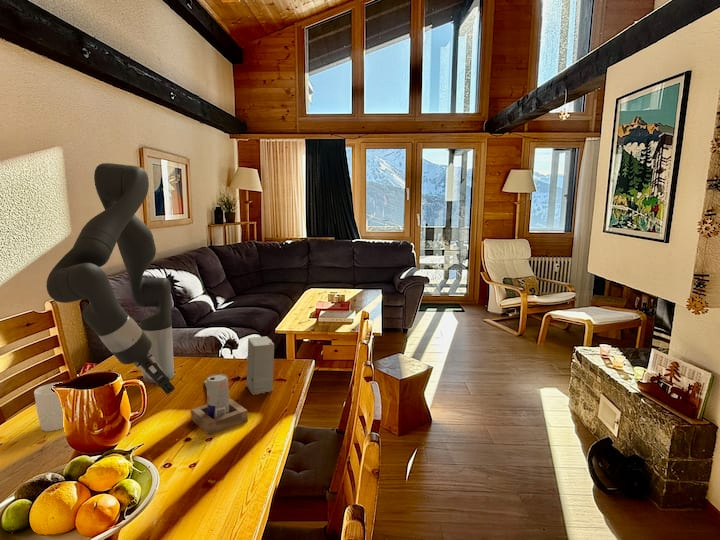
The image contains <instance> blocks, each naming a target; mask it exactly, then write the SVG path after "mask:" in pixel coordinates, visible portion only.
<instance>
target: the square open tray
mask: <svg viewBox="0 0 720 540" xmlns="http://www.w3.org/2000/svg"><path fill="white" fill-rule="evenodd" d="M248 413H249V412H248V409H246V408H245V407H243V406H242V405H241V404H239V403H238V402H236V401H234V400H233V399H232V398H231V397H229V413H228V414H226V415H223V416H220V417H217V418H214V419H212V418H211V417H210V416H208V406H207V403H205V404H202V405H200V406H196V407H194V408H191V409H190V415H191V421H192V422H193V423H195V425H197V426H198V427H199V428H200V429H202V430H203V431H204V432H205V433H206V434H207V435H208V436H212V435H214V434H217V433H219V432H222V431H224V430H227V429H231V428H234V427H235V426H238V425H240V424H243V423H247V422H248V421H249V415H248Z"/></svg>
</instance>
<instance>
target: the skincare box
mask: <svg viewBox="0 0 720 540" xmlns="http://www.w3.org/2000/svg"><path fill="white" fill-rule="evenodd" d="M274 359H275V343H274V342H273V341H272V339H270V338H269V336H267V335H266V336H253V337H252V336H251V337H248V338H247V360H246V363H247V365H246V366H247V367H246V368H247V369H246V387H247V388H248V390H249V391H250V393H251V394H252V396H255V394H256V395H261V394H260V393H262V394H266V393H265V392H269V393H271V392H270V391H272V392H273V387H274V386H273V385H274V366H275V365H274V363H275V360H274Z"/></svg>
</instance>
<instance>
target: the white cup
mask: <svg viewBox="0 0 720 540" xmlns="http://www.w3.org/2000/svg"><path fill="white" fill-rule="evenodd" d="M63 382H64V381H59V382H52V383H48V384H45V385H42V386H39V387H38V388H36V389H35V390H34V391H33V394H34V400H35V407H36V413H37V418H38V420H39V427H40V430H41V431H43V430H44V431H43V432H54V431H53V430H56V431H60V430H62V429H64V428H63V411H62V407H61V404H60V401H59V398H58V396H57V394H56V393H55V392H53V391H52V390H51V386H53V385H55V384H59V383H63ZM59 429H60V430H59Z"/></svg>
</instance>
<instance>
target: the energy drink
mask: <svg viewBox="0 0 720 540" xmlns="http://www.w3.org/2000/svg"><path fill="white" fill-rule="evenodd" d="M206 380H207V382H206V383H207V387H206V400H207V402H206V404H207V406H208V416H210V417H211V418H212V419H214V418H217V417H220V416H223V415H226V414H228V413H229V398H230V397H229V395H230V393H229V378H228V375H227V374H223V373H215V374H211V375H209V376H207V379H206Z"/></svg>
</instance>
